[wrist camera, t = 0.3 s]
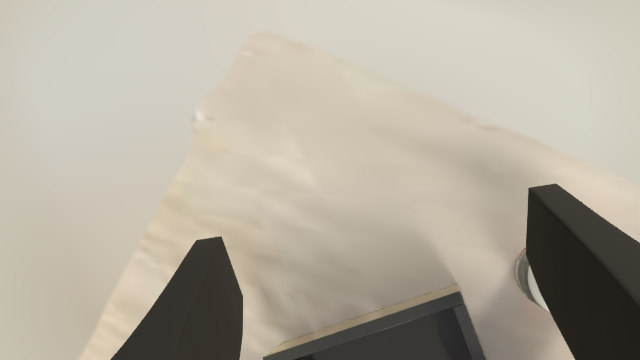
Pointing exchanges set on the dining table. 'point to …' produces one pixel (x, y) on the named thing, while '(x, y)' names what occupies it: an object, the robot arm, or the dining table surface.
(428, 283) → the dining table surface
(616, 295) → the robot arm
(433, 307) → the dark open box
